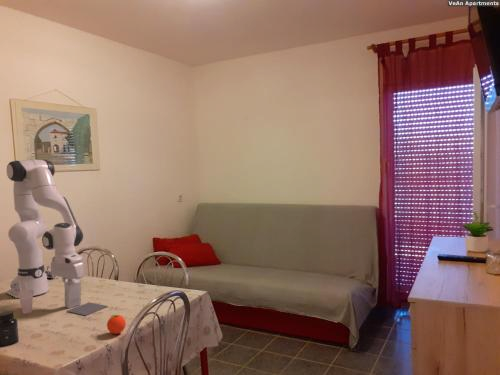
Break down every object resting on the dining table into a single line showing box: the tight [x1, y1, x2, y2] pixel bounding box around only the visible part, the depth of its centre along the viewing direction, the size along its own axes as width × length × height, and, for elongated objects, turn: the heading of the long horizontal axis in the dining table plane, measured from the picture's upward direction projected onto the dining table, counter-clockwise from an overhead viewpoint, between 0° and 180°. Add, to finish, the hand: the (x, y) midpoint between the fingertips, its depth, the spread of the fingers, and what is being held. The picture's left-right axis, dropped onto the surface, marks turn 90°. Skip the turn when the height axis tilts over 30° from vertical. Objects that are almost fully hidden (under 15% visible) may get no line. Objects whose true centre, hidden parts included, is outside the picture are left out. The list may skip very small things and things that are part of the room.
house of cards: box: [44, 265, 57, 279], centre depth 240 cm, size 9×9×8 cm
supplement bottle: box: [0, 310, 20, 348], centre depth 146 cm, size 7×7×12 cm
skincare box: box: [64, 279, 82, 309], centre depth 184 cm, size 6×4×12 cm
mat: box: [66, 302, 108, 317], centre depth 180 cm, size 13×12×1 cm
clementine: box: [106, 314, 127, 335], centre depth 152 cm, size 8×7×7 cm
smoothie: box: [18, 282, 34, 314], centre depth 179 cm, size 6×6×14 cm
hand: (68, 286), depth 185 cm, fingers closed
